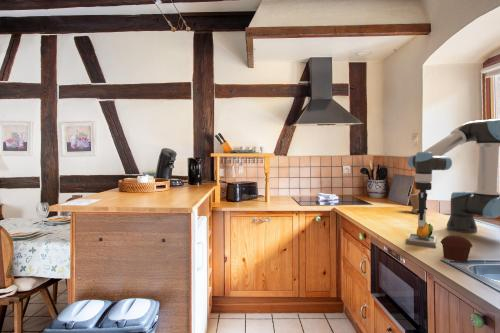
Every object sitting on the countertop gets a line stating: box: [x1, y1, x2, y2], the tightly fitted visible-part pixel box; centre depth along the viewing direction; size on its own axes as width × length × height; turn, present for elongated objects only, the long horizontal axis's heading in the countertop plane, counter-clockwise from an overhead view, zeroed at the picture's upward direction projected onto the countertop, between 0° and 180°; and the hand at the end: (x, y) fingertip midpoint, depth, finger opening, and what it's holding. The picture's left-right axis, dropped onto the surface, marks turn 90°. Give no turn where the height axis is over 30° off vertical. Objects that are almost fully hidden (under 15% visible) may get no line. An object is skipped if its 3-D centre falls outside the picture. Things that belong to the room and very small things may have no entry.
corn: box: [415, 221, 434, 239], centre depth 159 cm, size 7×8×20 cm
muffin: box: [440, 234, 473, 263], centre depth 136 cm, size 12×11×10 cm
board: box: [405, 232, 437, 249], centre depth 161 cm, size 13×15×2 cm
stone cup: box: [408, 193, 419, 215], centre depth 236 cm, size 15×12×15 cm
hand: (421, 224), depth 160 cm, fingers closed on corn, 11 cm apart
